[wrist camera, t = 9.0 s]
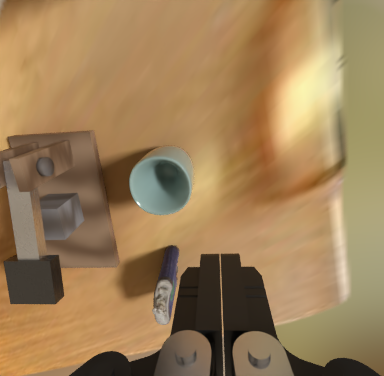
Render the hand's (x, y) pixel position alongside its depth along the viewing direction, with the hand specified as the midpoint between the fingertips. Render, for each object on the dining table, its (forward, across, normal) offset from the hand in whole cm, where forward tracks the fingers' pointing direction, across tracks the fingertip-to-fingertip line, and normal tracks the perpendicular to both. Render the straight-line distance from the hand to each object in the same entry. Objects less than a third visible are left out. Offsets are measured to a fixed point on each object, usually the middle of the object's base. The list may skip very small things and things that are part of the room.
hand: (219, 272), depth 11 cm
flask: (+31, +9, +23) cm, 40 cm away
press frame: (+31, +25, +10) cm, 41 cm away
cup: (+31, +7, +4) cm, 32 cm away
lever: (+21, +25, +9) cm, 34 cm away
